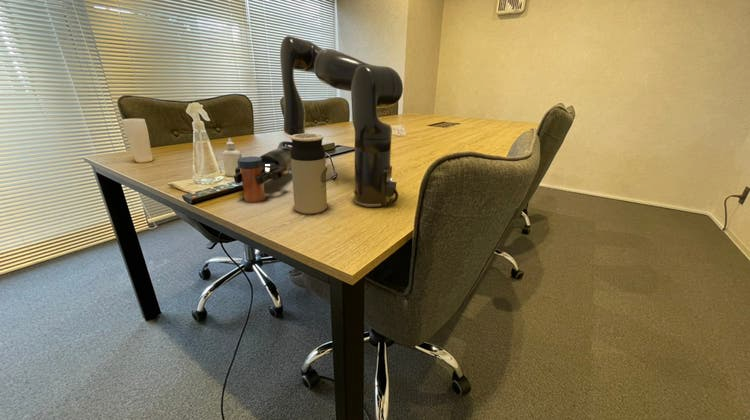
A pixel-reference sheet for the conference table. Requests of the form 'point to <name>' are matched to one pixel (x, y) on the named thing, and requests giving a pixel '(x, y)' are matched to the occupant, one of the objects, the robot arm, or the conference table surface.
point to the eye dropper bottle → (231, 158)
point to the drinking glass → (138, 139)
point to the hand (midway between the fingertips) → (247, 180)
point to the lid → (249, 162)
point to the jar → (252, 184)
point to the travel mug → (308, 173)
